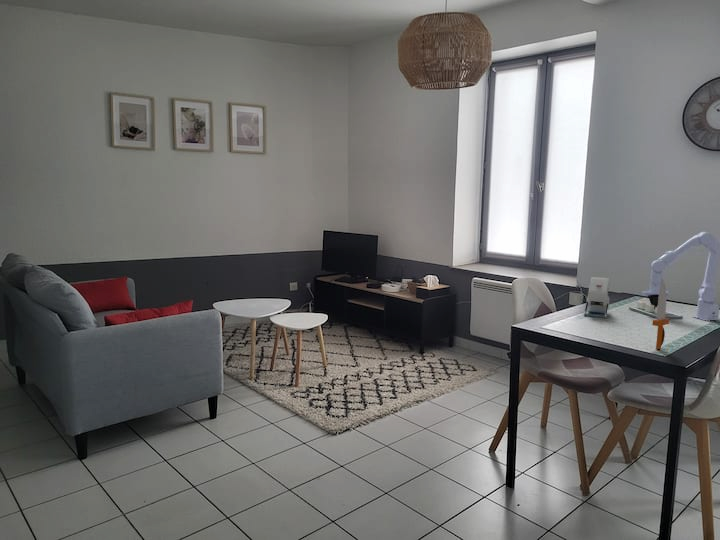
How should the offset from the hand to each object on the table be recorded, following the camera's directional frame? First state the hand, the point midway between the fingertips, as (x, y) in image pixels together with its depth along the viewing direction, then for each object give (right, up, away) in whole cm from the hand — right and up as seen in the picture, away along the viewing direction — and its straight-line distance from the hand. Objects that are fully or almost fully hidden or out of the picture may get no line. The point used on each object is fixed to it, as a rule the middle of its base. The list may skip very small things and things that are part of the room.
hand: (653, 308), depth 291 cm
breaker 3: (-1, -2, -7) cm, 7 cm away
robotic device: (-31, -3, -1) cm, 31 cm away
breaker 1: (-3, 0, +7) cm, 7 cm away
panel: (+1, -3, +1) cm, 3 cm away
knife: (-33, -12, -66) cm, 75 cm away
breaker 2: (-3, -1, 0) cm, 3 cm away
